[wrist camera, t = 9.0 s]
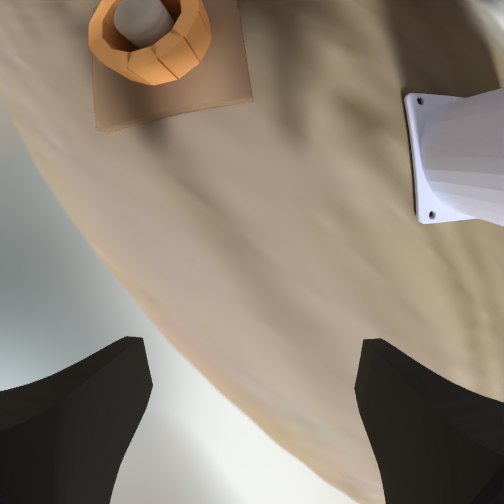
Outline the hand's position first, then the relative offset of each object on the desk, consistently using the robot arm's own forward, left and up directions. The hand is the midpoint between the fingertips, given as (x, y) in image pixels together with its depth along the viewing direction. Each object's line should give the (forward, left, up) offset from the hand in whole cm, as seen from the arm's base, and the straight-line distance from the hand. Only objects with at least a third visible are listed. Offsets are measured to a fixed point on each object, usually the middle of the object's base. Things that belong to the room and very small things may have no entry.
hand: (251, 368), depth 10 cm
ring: (+4, -15, -8) cm, 17 cm away
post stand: (+4, -15, -9) cm, 18 cm away
